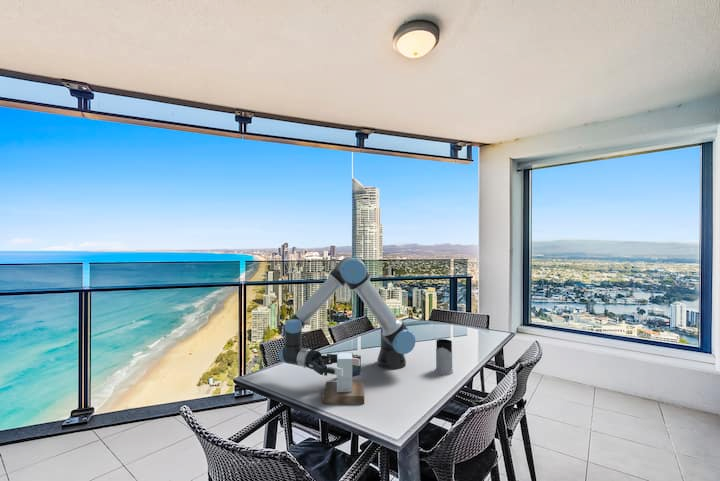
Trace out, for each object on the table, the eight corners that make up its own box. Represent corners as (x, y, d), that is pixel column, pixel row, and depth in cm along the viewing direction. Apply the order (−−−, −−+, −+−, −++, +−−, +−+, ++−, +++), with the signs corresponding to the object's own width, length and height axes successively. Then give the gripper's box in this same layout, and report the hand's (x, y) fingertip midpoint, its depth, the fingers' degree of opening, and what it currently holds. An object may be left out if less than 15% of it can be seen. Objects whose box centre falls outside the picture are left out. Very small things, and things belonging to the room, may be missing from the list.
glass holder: (433, 372, 152) (433, 341, 153) (440, 364, 165) (439, 335, 166) (451, 375, 148) (451, 344, 149) (456, 366, 161) (456, 337, 162)
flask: (344, 378, 144) (345, 355, 145) (341, 376, 147) (342, 353, 147) (361, 374, 149) (361, 352, 149) (358, 372, 151) (358, 350, 152)
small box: (352, 392, 122) (352, 358, 123) (336, 392, 122) (336, 359, 123) (351, 384, 130) (352, 352, 131) (336, 384, 130) (337, 352, 131)
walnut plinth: (363, 388, 133) (363, 381, 133) (364, 404, 119) (364, 396, 119) (326, 388, 132) (326, 381, 133) (322, 403, 118) (322, 396, 119)
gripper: (326, 359, 146) (365, 367, 135) (290, 376, 124) (334, 388, 114) (326, 343, 146) (365, 350, 136) (290, 357, 124) (334, 367, 114)
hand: (351, 367), depth 125 cm, fingers open, 13 cm apart
